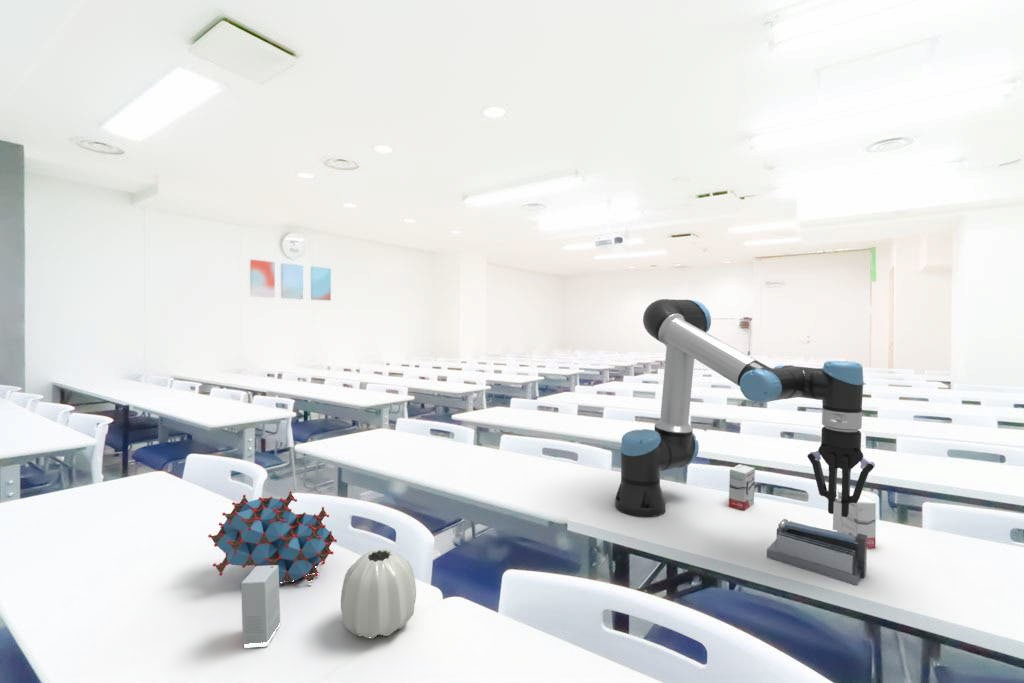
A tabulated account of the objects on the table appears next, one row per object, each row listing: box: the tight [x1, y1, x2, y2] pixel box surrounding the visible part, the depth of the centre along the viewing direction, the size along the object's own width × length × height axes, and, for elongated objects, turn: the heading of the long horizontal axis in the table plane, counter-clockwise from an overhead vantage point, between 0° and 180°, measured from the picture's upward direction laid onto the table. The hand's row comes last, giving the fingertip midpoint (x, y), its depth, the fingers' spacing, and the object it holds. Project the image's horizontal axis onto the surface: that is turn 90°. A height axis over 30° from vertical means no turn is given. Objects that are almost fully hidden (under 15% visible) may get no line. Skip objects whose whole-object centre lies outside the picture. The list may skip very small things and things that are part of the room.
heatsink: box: [766, 520, 868, 586], centre depth 113 cm, size 19×12×9 cm, turn 46°
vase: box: [340, 548, 417, 639], centre depth 90 cm, size 14×14×13 cm
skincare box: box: [240, 565, 281, 645], centre depth 86 cm, size 6×4×12 cm
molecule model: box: [207, 490, 338, 583], centre depth 107 cm, size 16×14×25 cm
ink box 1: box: [728, 464, 756, 511], centre depth 148 cm, size 8×5×12 cm, turn 134°
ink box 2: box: [836, 490, 877, 549], centre depth 124 cm, size 9×5×12 cm, turn 175°
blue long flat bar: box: [777, 518, 855, 543], centre depth 113 cm, size 15×4×1 cm, turn 46°
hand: (837, 528), depth 110 cm, fingers closed
